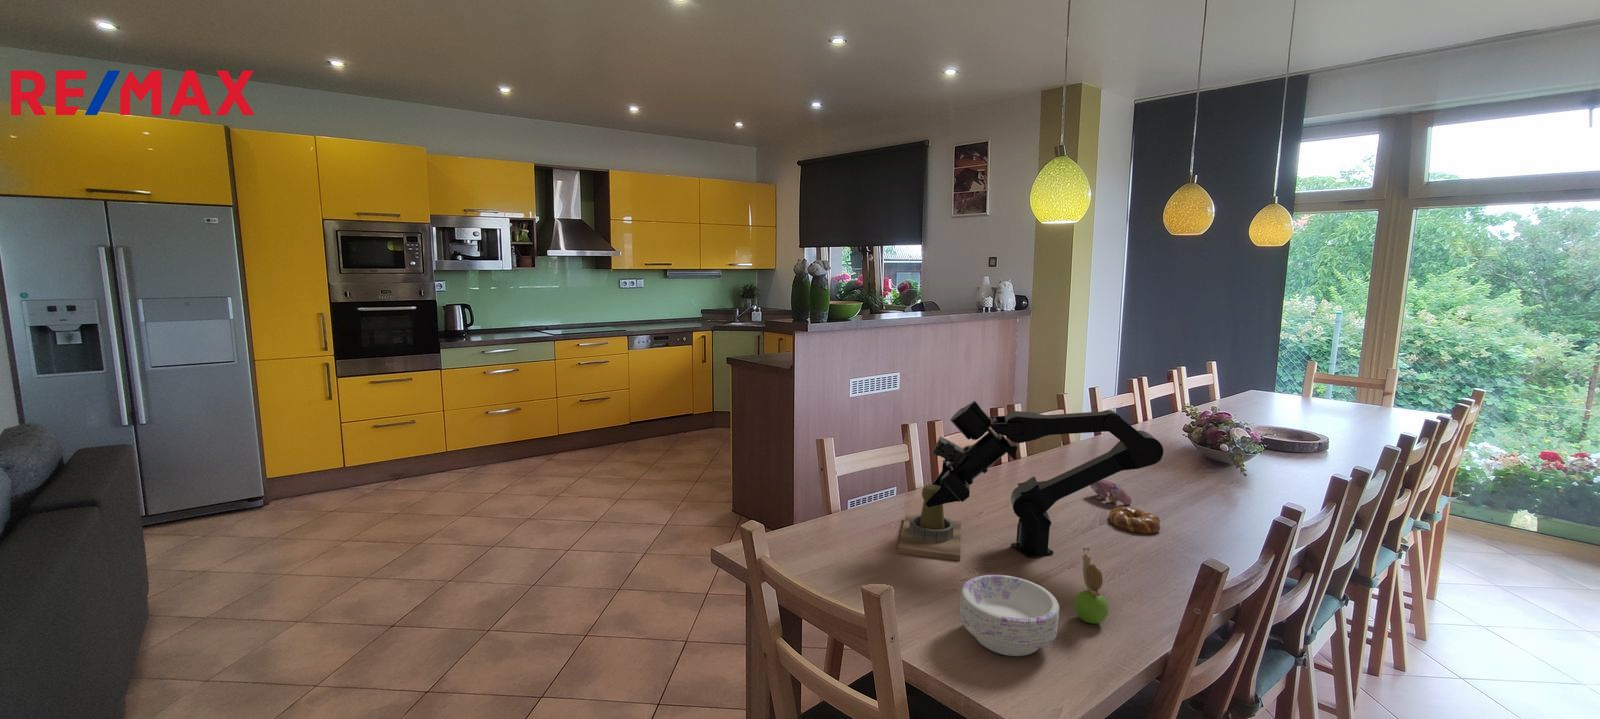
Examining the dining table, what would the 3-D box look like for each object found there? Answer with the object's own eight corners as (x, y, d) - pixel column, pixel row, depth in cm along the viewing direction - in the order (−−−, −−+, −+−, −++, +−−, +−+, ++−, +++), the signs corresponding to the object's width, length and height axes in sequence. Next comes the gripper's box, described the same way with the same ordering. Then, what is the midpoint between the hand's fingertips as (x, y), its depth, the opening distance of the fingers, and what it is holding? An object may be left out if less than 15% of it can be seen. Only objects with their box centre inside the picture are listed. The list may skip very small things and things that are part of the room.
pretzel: (1096, 521, 163) (1097, 506, 162) (1125, 514, 168) (1127, 500, 167) (1141, 539, 152) (1142, 523, 152) (1170, 531, 157) (1172, 516, 157)
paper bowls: (1017, 680, 97) (1020, 630, 96) (939, 633, 110) (941, 588, 109) (1075, 647, 106) (1079, 601, 105) (997, 607, 119) (1000, 566, 117)
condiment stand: (905, 519, 160) (906, 504, 159) (960, 525, 157) (961, 510, 156) (897, 552, 141) (898, 536, 140) (960, 560, 137) (961, 543, 137)
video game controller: (1091, 500, 181) (1085, 480, 179) (1102, 491, 183) (1096, 471, 181) (1123, 513, 173) (1117, 491, 170) (1134, 503, 174) (1128, 481, 172)
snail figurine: (1094, 610, 118) (1100, 546, 117) (1112, 629, 112) (1119, 563, 110) (1065, 610, 118) (1070, 546, 117) (1081, 629, 112) (1087, 562, 110)
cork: (927, 525, 153) (930, 479, 151) (950, 533, 148) (953, 486, 147) (912, 532, 149) (915, 485, 147) (935, 540, 144) (937, 492, 143)
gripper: (957, 418, 153) (907, 460, 157) (956, 437, 135) (899, 484, 139) (990, 454, 152) (939, 495, 156) (993, 478, 134) (935, 524, 138)
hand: (928, 498), depth 148 cm, fingers open, 9 cm apart
